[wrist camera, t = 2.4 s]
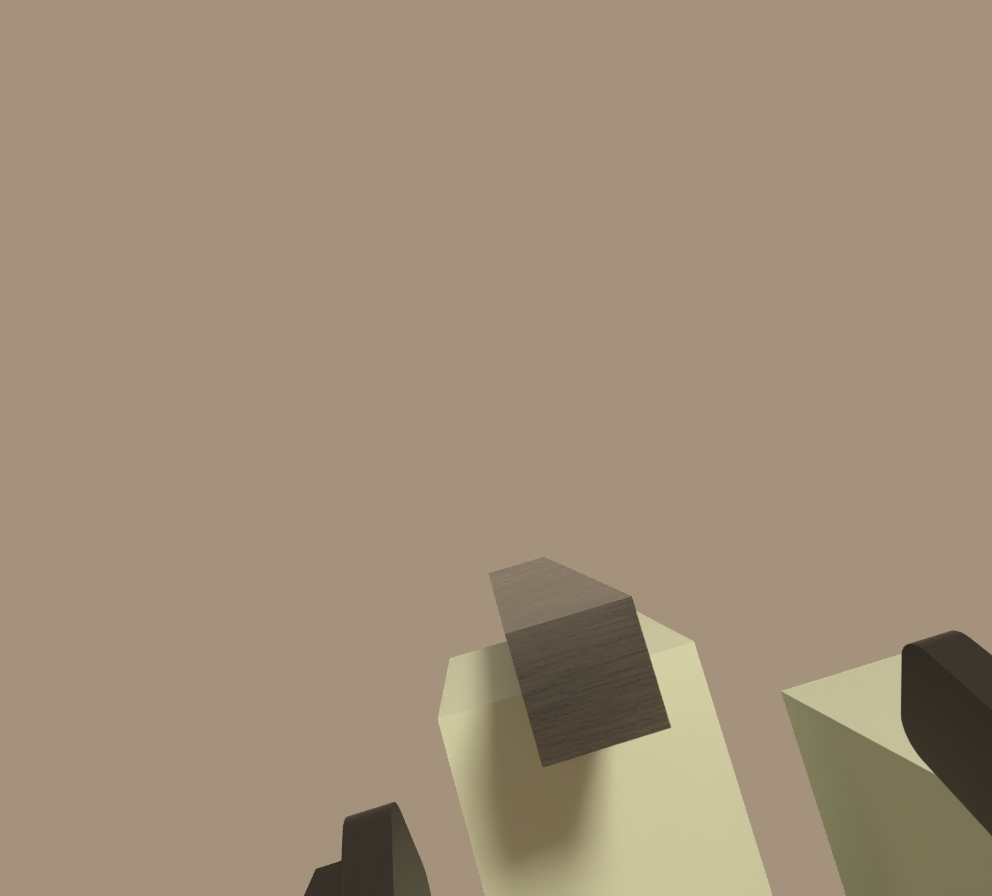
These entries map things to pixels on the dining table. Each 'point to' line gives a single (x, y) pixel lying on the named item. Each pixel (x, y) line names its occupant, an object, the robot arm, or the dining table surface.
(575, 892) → the stand
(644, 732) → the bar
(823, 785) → the block
